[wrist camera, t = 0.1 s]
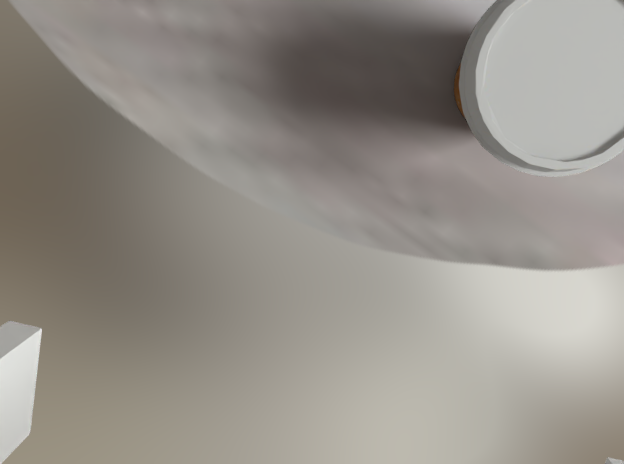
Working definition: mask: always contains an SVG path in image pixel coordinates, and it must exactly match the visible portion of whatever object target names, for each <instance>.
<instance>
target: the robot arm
mask: <svg viewBox="0 0 624 464" xmlns="http://www.w3.org/2000/svg"><path fill="white" fill-rule="evenodd" d="M41 332H42V328H39V327H34V326H30V325H26V324H21V323H17V322H13V321H8V322H7V323H5V324H4V325H2V326H0V464H1V463H2V462H3V461H4V460H5V459H6V458H7V457H8V456H9V455H10V454H11V453H12V452H13V450H15V449H16V447H17V446H18V445H19V444H20V443H21V442H22V441H23V440H24V439H25V438H26V437H27V436H28V435H29V434H30V429H31V421H32V411H33V403H34V394H35V385H36V376H37V367H38V359H39V350H40V341H41ZM605 464H624V461H622V460H617V459H613V458H607V460H606V463H605Z"/></svg>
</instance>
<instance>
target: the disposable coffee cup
mask: <svg viewBox="0 0 624 464" xmlns="http://www.w3.org/2000/svg"><path fill="white" fill-rule="evenodd" d="M454 94H455V100H456V103H457V106H458V108H459V110H460V112H461V114H462V115H463V116H464V118H465V119H466V120H467V123H468V125H469V127H470V129H471V131H472V132H473V134H474V135H475V137H476V138H477V140H478V141H479V143H480V144H481V145H482V147H483V148H484V149H486V150H487V151H488V152H489V153H490V154H492V155H493V156H494V157H495V158H497V159H498V160H499V161H500V162H501V163H503V164H505V165H507V166H509V167H511V168H514V169H516V170H518V171H520V172H524V173H528V174H532V175H535V176H549V177H562V176H568V175H574V174H580V173H583V172H585V171H588V170H590V169H593V168H595V167H598V166H600V165H603V164H604V163H606V162H607V161H609V160H611V159H612V158H614V157H615V156H617V155H618V154H620V153H621V152H622V151H623V150H624V0H497V1H496V2H495V3H494V4H493V5H492V6H491V7H490V8H489V9H488V10H487V11H486V12H485V14H484V15H483V16H482V17H481V19H480V20H479V22H478V23H477V24H476V26H475V28H474V30H473V32H472V34H471V36H470V38H469V40H468V42H467V44H466V48H465V51H464V54H463V57H462V61H461V63H460V65H459V68H458V70H457V72H456V76H455V81H454Z"/></svg>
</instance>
